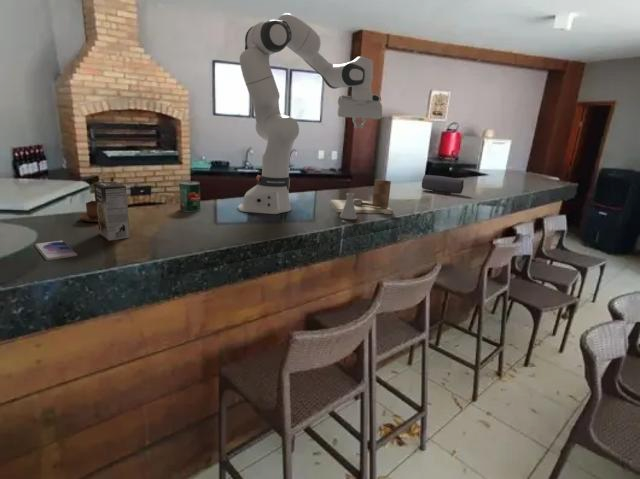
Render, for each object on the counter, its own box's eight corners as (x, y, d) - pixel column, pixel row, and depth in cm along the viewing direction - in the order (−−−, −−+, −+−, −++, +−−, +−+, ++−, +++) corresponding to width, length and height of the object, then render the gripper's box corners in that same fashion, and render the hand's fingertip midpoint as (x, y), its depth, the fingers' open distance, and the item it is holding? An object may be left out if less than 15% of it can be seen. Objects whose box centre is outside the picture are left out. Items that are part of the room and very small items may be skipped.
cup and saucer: (76, 218, 139) (74, 201, 137) (114, 214, 146) (112, 198, 145) (83, 226, 130) (81, 208, 128) (123, 222, 138) (121, 204, 136)
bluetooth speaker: (462, 194, 236) (465, 178, 233) (458, 196, 228) (461, 179, 225) (425, 189, 247) (427, 173, 244) (420, 191, 240) (422, 174, 237)
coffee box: (98, 233, 123) (92, 182, 118) (120, 230, 127) (115, 180, 123) (108, 241, 117) (102, 186, 112) (130, 237, 121) (126, 185, 116)
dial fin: (352, 204, 180) (354, 177, 176) (354, 203, 184) (356, 176, 180) (386, 209, 175) (389, 181, 171) (388, 207, 178) (391, 180, 175)
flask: (356, 220, 159) (358, 196, 156) (338, 219, 160) (340, 194, 157) (357, 216, 165) (360, 193, 162) (340, 215, 167) (342, 191, 164)
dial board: (337, 212, 171) (337, 208, 171) (330, 202, 190) (330, 199, 190) (392, 213, 175) (393, 210, 174) (380, 204, 194) (380, 200, 193)
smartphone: (63, 239, 114) (77, 254, 104) (63, 242, 114) (78, 257, 104) (33, 243, 109) (46, 258, 99) (33, 246, 110) (46, 262, 99)
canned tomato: (197, 212, 156) (196, 184, 153) (177, 211, 156) (176, 183, 153) (202, 208, 164) (202, 181, 161) (183, 207, 164) (182, 180, 161)
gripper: (339, 94, 173) (337, 127, 177) (384, 97, 176) (381, 129, 180) (337, 95, 179) (335, 127, 183) (380, 98, 182) (377, 129, 186)
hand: (358, 128), depth 182 cm, fingers closed
